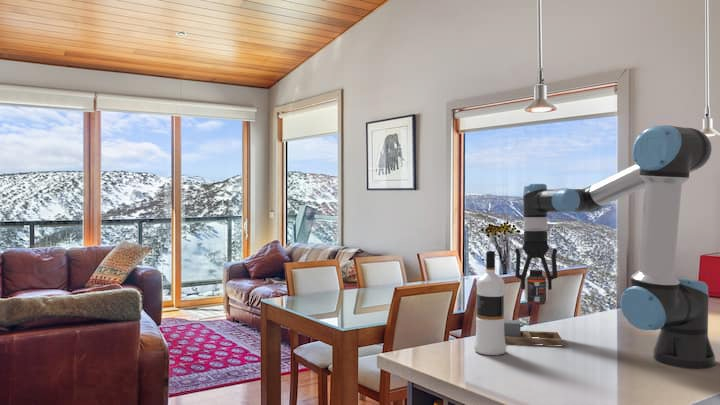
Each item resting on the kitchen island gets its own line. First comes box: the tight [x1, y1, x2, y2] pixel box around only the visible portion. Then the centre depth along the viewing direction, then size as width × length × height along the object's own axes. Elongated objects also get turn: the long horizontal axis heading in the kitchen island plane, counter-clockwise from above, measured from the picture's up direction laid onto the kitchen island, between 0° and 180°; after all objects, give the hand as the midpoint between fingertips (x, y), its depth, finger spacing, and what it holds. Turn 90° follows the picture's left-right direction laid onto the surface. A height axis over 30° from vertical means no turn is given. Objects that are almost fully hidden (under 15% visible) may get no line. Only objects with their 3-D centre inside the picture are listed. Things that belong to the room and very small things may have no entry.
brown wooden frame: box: [505, 330, 563, 346], centre depth 184 cm, size 20×10×2 cm, turn 79°
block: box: [504, 319, 521, 337], centre depth 185 cm, size 5×5×6 cm
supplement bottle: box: [526, 268, 547, 306], centre depth 193 cm, size 6×6×11 cm
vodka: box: [473, 250, 507, 357], centre depth 171 cm, size 9×9×30 cm
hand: (536, 299), depth 193 cm, fingers closed on supplement bottle, 6 cm apart
